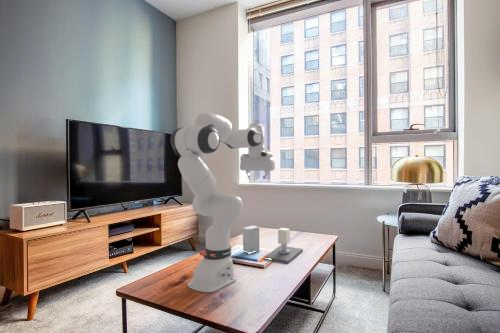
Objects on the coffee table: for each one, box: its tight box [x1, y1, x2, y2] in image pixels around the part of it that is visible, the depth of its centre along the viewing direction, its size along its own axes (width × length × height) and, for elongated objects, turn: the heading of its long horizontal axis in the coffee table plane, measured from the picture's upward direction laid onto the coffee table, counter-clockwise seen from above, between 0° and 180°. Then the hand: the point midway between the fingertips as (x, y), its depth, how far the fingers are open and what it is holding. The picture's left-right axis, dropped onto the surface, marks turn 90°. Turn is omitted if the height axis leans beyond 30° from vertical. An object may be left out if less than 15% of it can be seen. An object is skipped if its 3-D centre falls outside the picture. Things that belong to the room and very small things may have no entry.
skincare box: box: [242, 225, 260, 252], centre depth 168 cm, size 8×6×15 cm
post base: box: [263, 244, 304, 264], centre depth 163 cm, size 22×14×10 cm, turn 150°
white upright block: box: [277, 227, 291, 245], centre depth 162 cm, size 5×5×8 cm
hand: (257, 178), depth 160 cm, fingers open, 8 cm apart
